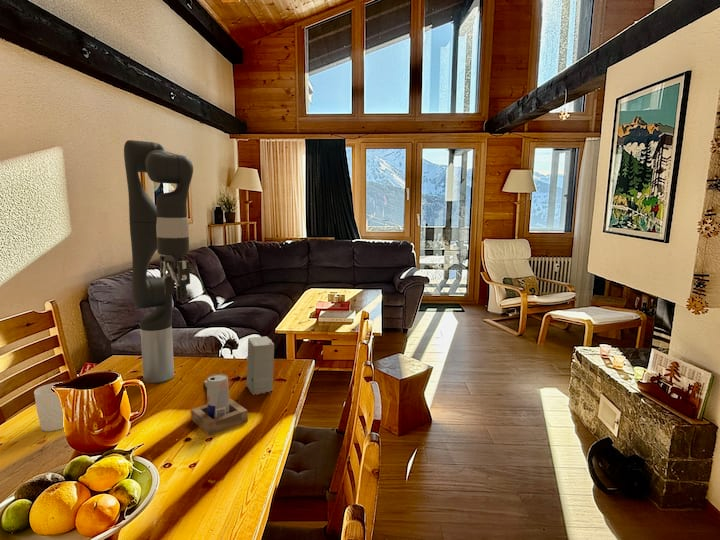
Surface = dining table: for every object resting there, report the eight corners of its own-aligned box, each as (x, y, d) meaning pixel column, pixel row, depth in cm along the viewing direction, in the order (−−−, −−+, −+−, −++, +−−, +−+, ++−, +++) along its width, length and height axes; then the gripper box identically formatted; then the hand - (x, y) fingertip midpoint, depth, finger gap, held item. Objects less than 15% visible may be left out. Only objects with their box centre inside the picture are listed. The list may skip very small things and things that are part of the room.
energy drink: (211, 415, 114) (209, 373, 113) (231, 415, 115) (230, 373, 113) (205, 426, 109) (204, 382, 107) (226, 425, 110) (225, 381, 108)
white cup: (30, 429, 106) (26, 391, 105) (61, 415, 114) (58, 379, 112) (51, 435, 104) (48, 397, 102) (82, 420, 111) (79, 384, 110)
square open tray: (191, 419, 112) (191, 409, 112) (228, 407, 120) (228, 397, 119) (209, 435, 105) (209, 424, 104) (247, 420, 112) (247, 410, 112)
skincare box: (246, 385, 134) (244, 337, 132) (268, 381, 137) (267, 334, 135) (252, 396, 127) (251, 345, 124) (275, 392, 130) (275, 342, 128)
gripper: (199, 237, 105) (200, 300, 107) (177, 232, 115) (179, 291, 118) (167, 238, 100) (170, 304, 102) (148, 233, 110) (151, 294, 113)
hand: (175, 297), depth 110 cm, fingers open, 8 cm apart
